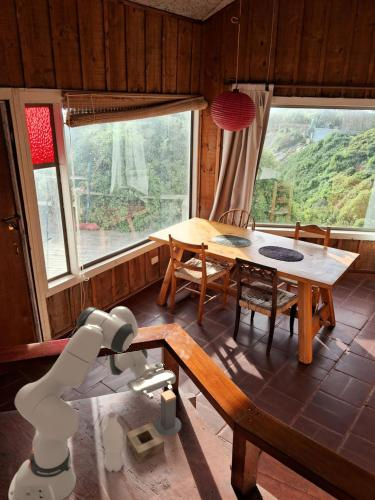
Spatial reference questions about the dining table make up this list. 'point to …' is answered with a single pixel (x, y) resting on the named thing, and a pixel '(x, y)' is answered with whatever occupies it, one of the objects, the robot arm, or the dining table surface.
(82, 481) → the dining table surface
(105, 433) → the water bottle
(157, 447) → the block
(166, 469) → the dining table surface
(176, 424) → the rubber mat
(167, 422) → the plug peg
